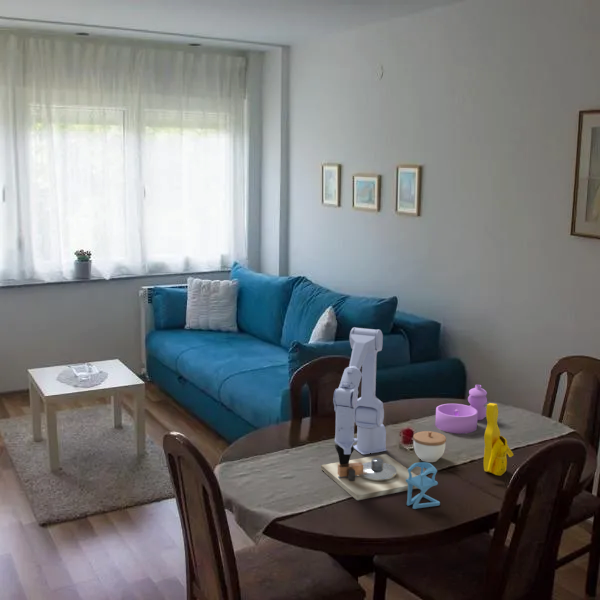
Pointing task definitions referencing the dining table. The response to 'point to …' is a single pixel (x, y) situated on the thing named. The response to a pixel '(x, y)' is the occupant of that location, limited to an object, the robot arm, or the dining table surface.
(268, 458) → the dining table surface
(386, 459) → the base board
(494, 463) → the figure statuette
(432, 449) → the lidded jar
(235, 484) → the dining table surface
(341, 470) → the grey and orange-brown pieces
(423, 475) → the blue abstract sculpture
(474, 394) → the container set
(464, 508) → the dining table surface
